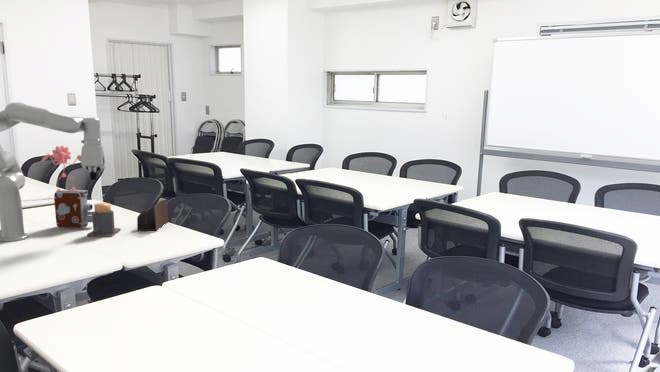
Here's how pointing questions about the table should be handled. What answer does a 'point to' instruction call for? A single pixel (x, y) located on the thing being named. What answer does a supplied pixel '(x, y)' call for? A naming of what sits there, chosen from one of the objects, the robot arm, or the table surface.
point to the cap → (102, 208)
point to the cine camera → (72, 209)
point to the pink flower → (61, 159)
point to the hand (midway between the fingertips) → (93, 179)
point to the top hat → (103, 225)
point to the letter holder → (153, 217)
